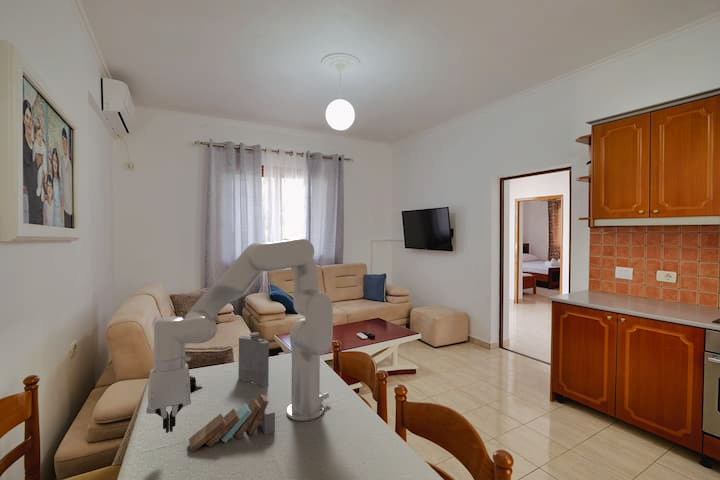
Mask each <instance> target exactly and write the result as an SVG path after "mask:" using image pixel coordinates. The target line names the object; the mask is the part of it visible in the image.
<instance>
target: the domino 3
mask: <svg viewBox="0 0 720 480" xmlns="http://www.w3.org/2000/svg"><path fill="white" fill-rule="evenodd" d="M248 405H249V404H246V403H245V402H244V403H242V405H241V406H240V407H239V408H238V410H236V412H237V414H238V416H239V418H240V420H239V421H238V422H237V423H235V424H234V425H233V426H232V427H231V428H230V429H229V430H228V431H227V432H226V433H225V434H224V435H223V436H222V437H221V438H220V439H221V441H223V442H224V443H225V444H226V443H227V442H228V441H230V439H231V438H232V437H233V435H235V434H234V433H235V432H236V431H237V430H238V428H239V427H240V426H241V425H242V424H243V423H244V421H245V420H246V419H247V418H248V417H249V416H250V414H251V413H252V412H251V411H250V409H249V407H248Z"/></svg>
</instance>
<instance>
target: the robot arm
mask: <svg viewBox="0 0 720 480" xmlns="http://www.w3.org/2000/svg"><path fill="white" fill-rule="evenodd" d="M314 256H315V247H314V245H313V243H312V242H311V241H310V240H308V239H307V238H303V237H302V238H301V237H286V238H284V239H281V240H280V241H275V242H273V241H272V242H253V243H251V244H249V245H248V246H247V247H246V248H245V249H244V250H243V251H242V252H241V254H240V255H239V256H238V257H237V258H236V259H235V261H234V262H233V263H232V265H231V266H230V267H229V268H228V269H227V270H226V272H225V273H224V274H223V276H221V278H219V280H218V281H216V282H215V283H214V284H213V285H212V286H211V287H210V288H209V289H207V290H206V291H205V292H204V293H203V294H202V296H200V298H199V299H198V300H197V301H196V302H195V304H194V305H193V306H192V307H191V308H190V310H189V311H187V314H185V316H184V318H183V317H182V316H165V317H160V318H158V319H157V320H155V322H154V326H153V367H152V369H150V372H149V376H148V385H147V406H146V410H145V412H146V414H156V415H158V416H159V417H161V419H162V430H165V433H166V434H168V433H170V432H171V433H173V431H174V430H173V428H174V427H176V416H177V415H178V413H179V412H180V411H181V410H182V409H183V408H185V407H188V406H190V405H191V404H192V400H191V393H190V376H191V375H190V370H189V369H190V368H189V365H188V364H189V363H187V362H190V361H191V360H192V355H186V344H203V343H207V342H209V341H212V339H214V338H215V336H216V334H217V331H218V326H217V324H216V321H215V318H216V316H218V314H219V313H220V312H221V310H223V309H224V308H225V307H226V306H227V305H229V304H230V303H231V302H234V301H237V300H239V299H240V298H243V296H245V295H246V294H247V293H248V291H249V289H251V287H252V286H253V285H254V283H255V282H256V281H257V280H258V278H260V276H261V274H262V273H264V272H274V271H281V270H284V269H285V270H287V269H291V272H292V278H293V279H292V280H293V281H292V282H293V294H292V295H293V297H292V298H293V299H292V302H293V309H294V311H295V312H296V313H297V314H299V315H300V316H302V317H305V318H299V319H298V320H296V321H295V322H294V323H293V324H292V326H291V328H290V330H289V341H290V342H289V344H290V349H291V397H290V398H291V403H290V404H289V405H288V406H287V407H286V415H287V417H288V418H290V419H291V420H294V421H298V422H300V421H301V422H306V421H307V422H308V421H311V420H315V419H317V418H319V417H321V416H322V415H323V414H324V411H325V406H324V404H323V403H322V402H323V401H324V400H326V399H328V398H329V397H330V394H329V392H327V391H326V392H324V393H321V392H320V391H321V390H320V388H321V387H320V384H321V383H320V380H321V379H320V378H321V376H320V371H321V355H324V354H325V353H327V352H328V351H329V349H330V348H331V346H332V344H333V343H332V342H333V338H334V335H333V334H334V333H333V331H334V308H333V307H334V306H333V303H332V300H331V297H330V296H329V295H328V294H327V293H326V292H324V291H322V290H320V286H319V270H318V266H317V264H316V261H315V259H314ZM168 407H169V408H170V407H171V410H170V412H168V411H167V408H168Z"/></svg>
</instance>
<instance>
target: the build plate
mask: <svg viewBox="0 0 720 480" xmlns="http://www.w3.org/2000/svg"><path fill="white" fill-rule="evenodd" d="M189 376H190V394H192V393H195V392H198V391H199V390H201V389H203V387H201V386H198V385H197V380H196V376H192V375H189Z"/></svg>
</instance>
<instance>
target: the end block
mask: <svg viewBox="0 0 720 480" xmlns="http://www.w3.org/2000/svg"><path fill="white" fill-rule="evenodd" d="M258 426H260V428H261V430H262V431H263V433H264V434H263V435H268V434H272V433H275V432H276V411H275V410H274V409H273V406H271V404H270V403H269V402H268V405H267V407H266V409H265V411H264V414H263V416H262V418H261V420H260V422H259V425H258Z"/></svg>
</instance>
